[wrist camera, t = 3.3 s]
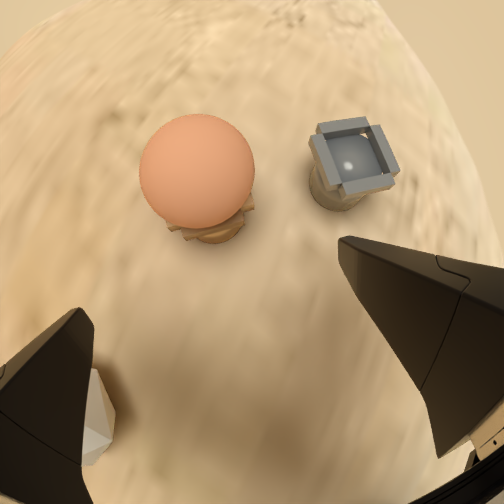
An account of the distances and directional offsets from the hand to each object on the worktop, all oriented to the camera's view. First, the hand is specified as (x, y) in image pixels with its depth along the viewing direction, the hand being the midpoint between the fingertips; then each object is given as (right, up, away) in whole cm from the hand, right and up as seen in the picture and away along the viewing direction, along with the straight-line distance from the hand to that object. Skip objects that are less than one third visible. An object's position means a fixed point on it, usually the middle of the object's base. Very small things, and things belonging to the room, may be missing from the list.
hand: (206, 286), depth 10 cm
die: (-13, -11, +12) cm, 21 cm away
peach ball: (-1, +5, +6) cm, 8 cm away
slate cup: (+8, +6, +14) cm, 18 cm away
